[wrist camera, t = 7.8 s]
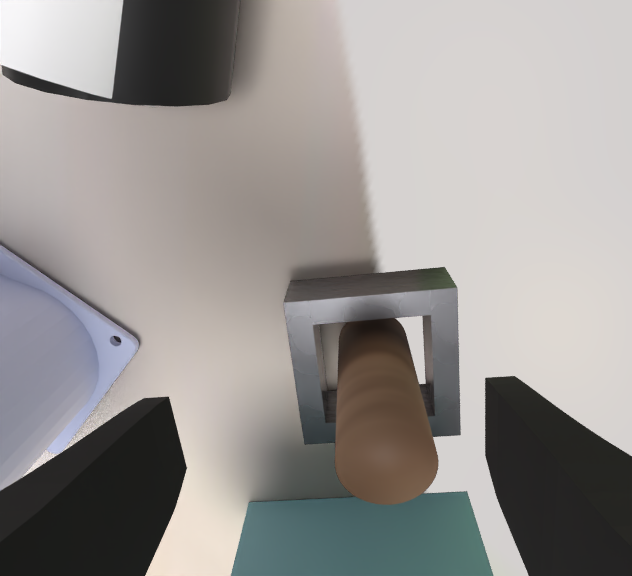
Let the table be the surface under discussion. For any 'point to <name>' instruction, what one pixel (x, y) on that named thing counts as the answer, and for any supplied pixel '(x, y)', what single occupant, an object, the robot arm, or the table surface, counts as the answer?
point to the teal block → (362, 538)
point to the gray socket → (370, 304)
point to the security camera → (122, 49)
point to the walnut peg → (381, 416)
